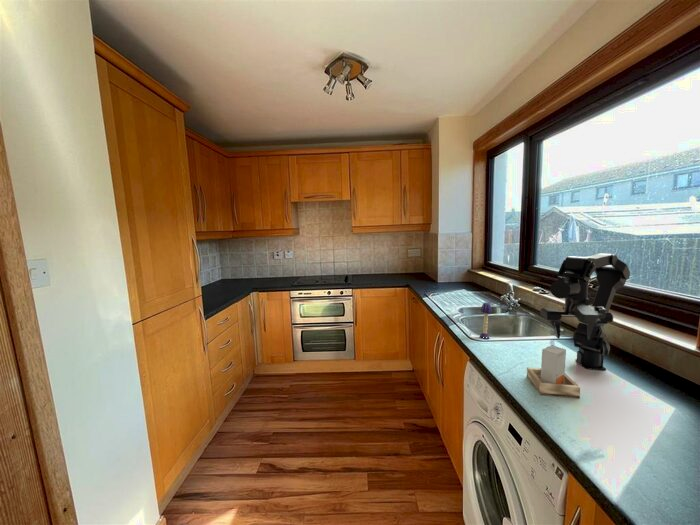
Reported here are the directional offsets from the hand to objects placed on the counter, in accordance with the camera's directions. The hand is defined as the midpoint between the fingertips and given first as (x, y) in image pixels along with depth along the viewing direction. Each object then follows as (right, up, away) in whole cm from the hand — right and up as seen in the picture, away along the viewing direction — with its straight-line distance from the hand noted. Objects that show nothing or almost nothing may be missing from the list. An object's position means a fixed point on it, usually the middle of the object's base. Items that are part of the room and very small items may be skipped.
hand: (573, 338), depth 93 cm
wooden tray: (-11, -14, -5) cm, 19 cm away
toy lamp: (-13, -10, +35) cm, 38 cm away
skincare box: (-11, -14, -5) cm, 18 cm away
